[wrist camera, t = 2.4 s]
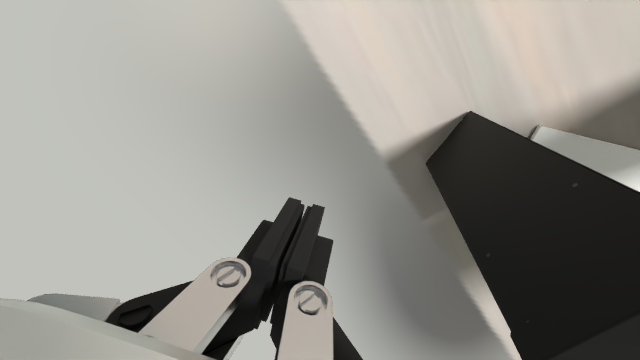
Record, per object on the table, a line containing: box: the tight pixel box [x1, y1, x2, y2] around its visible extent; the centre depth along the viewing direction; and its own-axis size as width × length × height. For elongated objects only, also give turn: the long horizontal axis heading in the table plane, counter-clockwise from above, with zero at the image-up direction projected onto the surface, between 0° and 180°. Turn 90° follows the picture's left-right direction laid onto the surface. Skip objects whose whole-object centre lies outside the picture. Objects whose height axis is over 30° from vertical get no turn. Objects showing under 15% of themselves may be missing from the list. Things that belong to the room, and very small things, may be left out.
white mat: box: [530, 125, 640, 192], centre depth 30 cm, size 20×14×1 cm
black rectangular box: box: [426, 111, 640, 360], centre depth 18 cm, size 8×8×28 cm
